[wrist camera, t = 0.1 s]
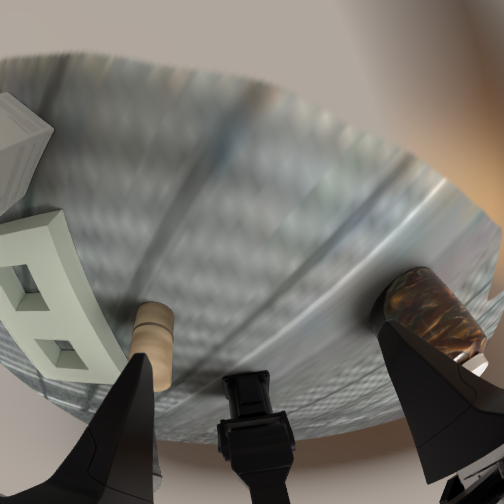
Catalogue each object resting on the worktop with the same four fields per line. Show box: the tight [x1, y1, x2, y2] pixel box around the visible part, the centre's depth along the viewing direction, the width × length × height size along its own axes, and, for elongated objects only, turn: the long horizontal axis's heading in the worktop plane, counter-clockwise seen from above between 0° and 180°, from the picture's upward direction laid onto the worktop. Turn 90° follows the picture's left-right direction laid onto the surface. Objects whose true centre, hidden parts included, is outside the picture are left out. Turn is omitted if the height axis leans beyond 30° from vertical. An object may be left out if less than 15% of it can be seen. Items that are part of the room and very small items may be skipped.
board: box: [0, 209, 128, 384], centre depth 23 cm, size 22×14×3 cm, turn 1°
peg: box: [128, 302, 174, 392], centre depth 24 cm, size 4×4×8 cm
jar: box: [370, 268, 488, 376], centre depth 27 cm, size 12×12×15 cm
